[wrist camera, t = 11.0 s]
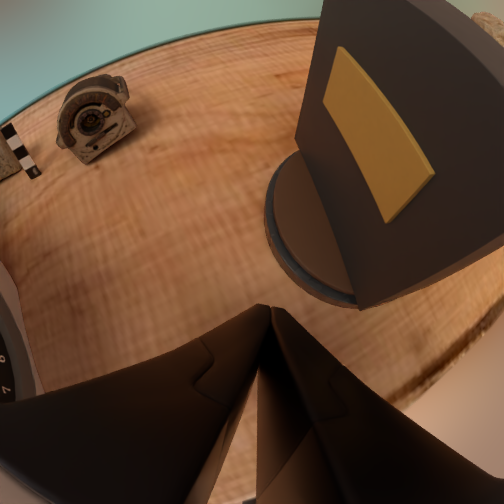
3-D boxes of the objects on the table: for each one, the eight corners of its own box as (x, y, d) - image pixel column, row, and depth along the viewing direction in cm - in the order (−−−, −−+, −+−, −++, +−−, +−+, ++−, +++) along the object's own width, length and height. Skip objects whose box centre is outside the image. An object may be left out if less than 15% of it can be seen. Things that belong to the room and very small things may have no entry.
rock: (518, 101, 36) (546, 61, 22) (491, 96, 33) (525, 45, 19) (470, 51, 41) (491, 11, 27) (436, 41, 39) (458, -8, 25)
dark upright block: (305, 328, 17) (515, 199, 3) (251, 149, 22) (262, -48, 7) (453, 276, 19) (604, 175, 4) (386, 135, 24) (454, -1, 9)
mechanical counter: (17, 149, 18) (98, 103, 16) (55, 61, 21) (128, 21, 20) (64, 181, 25) (143, 151, 23) (86, 95, 28) (155, 65, 26)
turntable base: (447, 260, 21) (457, 254, 20) (319, 344, 19) (325, 343, 17) (365, 138, 26) (370, 128, 24) (233, 181, 23) (233, 170, 22)
